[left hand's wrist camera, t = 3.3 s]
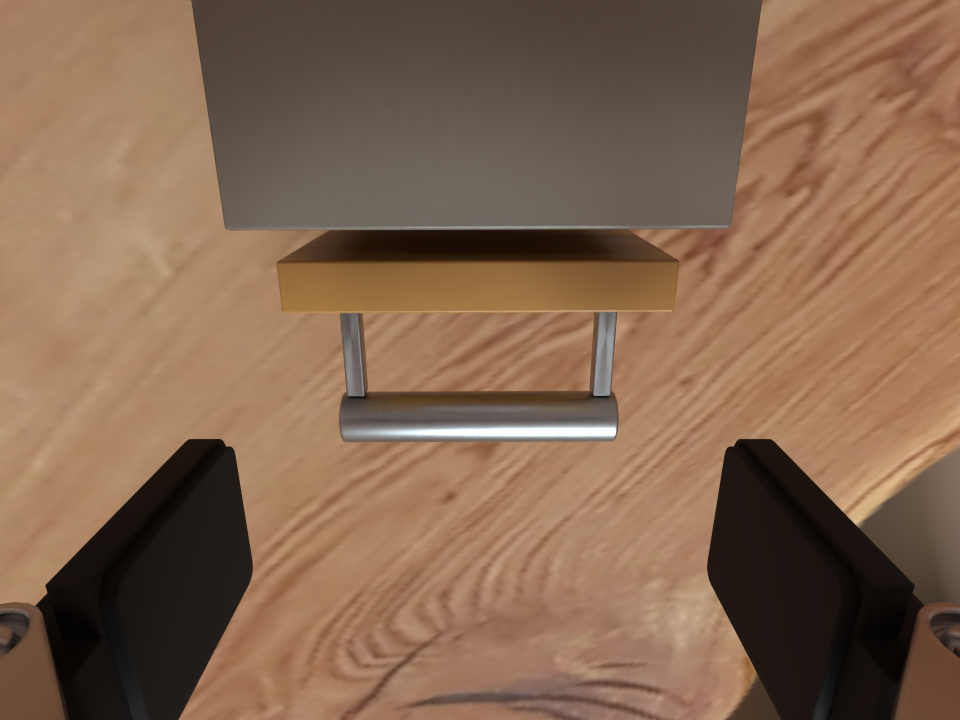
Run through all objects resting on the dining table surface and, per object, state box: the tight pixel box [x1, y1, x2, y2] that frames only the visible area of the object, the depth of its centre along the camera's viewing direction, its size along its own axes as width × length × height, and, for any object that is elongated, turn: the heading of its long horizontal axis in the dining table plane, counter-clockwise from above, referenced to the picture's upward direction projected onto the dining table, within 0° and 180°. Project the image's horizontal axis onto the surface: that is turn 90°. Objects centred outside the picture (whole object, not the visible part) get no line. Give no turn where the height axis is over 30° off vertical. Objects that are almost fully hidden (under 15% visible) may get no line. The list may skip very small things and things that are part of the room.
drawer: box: [277, 229, 679, 442], centre depth 15 cm, size 24×9×9 cm, turn 0°
